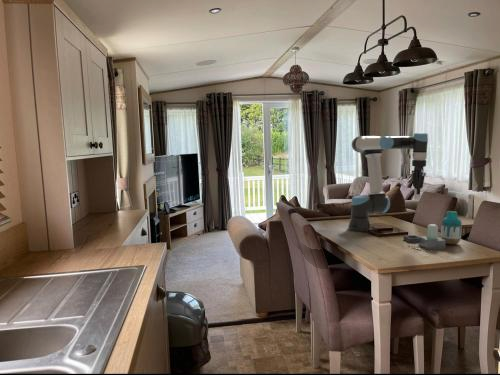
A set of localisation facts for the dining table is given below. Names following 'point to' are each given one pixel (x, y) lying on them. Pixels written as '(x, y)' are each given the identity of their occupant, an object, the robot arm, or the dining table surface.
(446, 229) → the vase
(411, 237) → the holster
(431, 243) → the port panel
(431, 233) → the plug
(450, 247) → the dining table surface
